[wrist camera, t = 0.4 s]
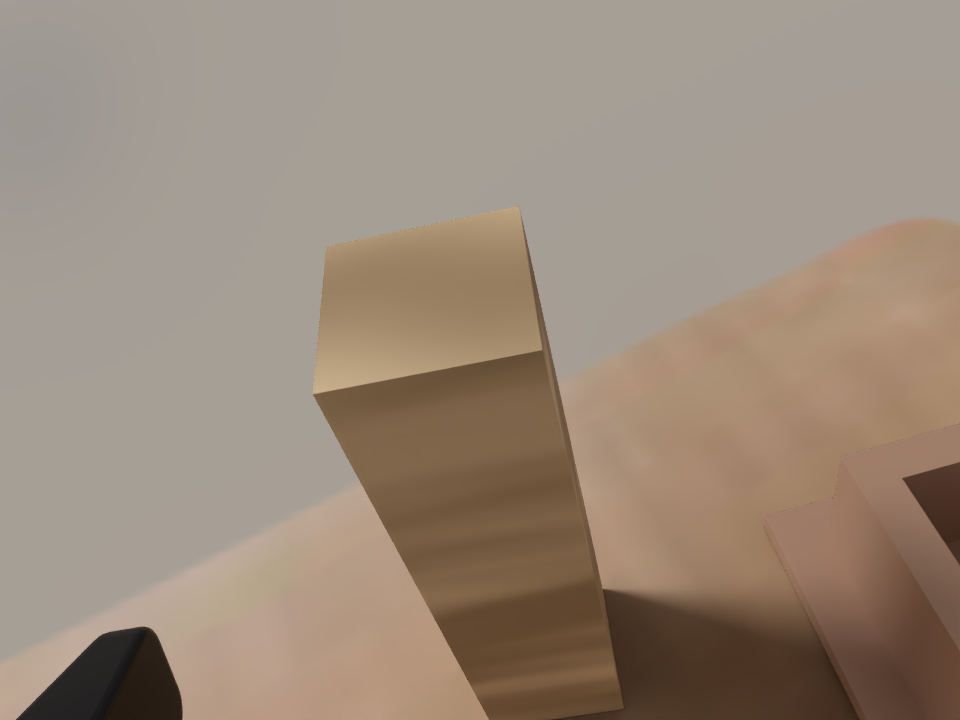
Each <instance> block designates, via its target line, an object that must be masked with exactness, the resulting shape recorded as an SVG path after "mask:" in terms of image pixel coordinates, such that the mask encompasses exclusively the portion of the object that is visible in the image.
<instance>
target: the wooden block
mask: <svg viewBox="0 0 960 720" xmlns="http://www.w3.org/2000/svg"><path fill="white" fill-rule="evenodd" d="M313 395H314V397H315V399H316V401H317V403H318V405H319V406H320V408H321V410H322V412H323V414H324V416H325V418H326V419H327V421H328V423H329V425H330V427H331V428H332V430H333V432H334V434H335V436H336V438H337V440H338V441H339V443H340V445H341V447H342V449H343V451H344V453H345V454H346V456H347V458H348V460H349V462H350V463H351V465H352V467H353V469H354V471H355V473H356V475H357V476H358V478H359V480H360V482H361V484H362V486H363V488H364V490H365V491H366V493H367V495H368V497H369V499H370V501H371V502H372V504H373V506H374V508H375V510H376V512H377V514H378V515H379V517H380V519H381V521H382V523H383V525H384V526H385V528H386V530H387V532H388V534H389V536H390V538H391V539H392V541H393V543H394V545H395V547H396V549H397V550H398V552H399V554H400V556H401V558H402V560H403V561H404V563H405V565H406V567H407V569H408V571H409V573H410V574H411V576H412V578H413V580H414V582H415V584H416V585H417V587H418V589H419V591H420V593H421V595H422V597H423V598H424V600H425V602H426V604H427V606H428V608H429V609H430V611H431V613H432V615H433V617H434V619H435V621H436V622H437V624H438V626H439V628H440V630H441V632H442V633H443V635H444V637H445V639H446V641H447V643H448V645H449V646H450V648H451V650H452V652H453V654H454V656H455V657H456V659H457V661H458V663H459V665H460V667H461V669H462V670H463V672H464V674H465V676H466V678H467V680H468V681H469V683H470V685H471V687H472V689H473V691H474V693H475V694H476V696H477V698H478V700H479V702H480V704H481V705H482V707H483V709H484V711H485V713H486V715H487V717H488V718H489V720H552V719H559V718H566V717H572V716H579V715H586V714H593V713H600V712H607V711H613V710H620V709H624V705H623V700H622V694H621V689H620V683H619V678H618V672H617V667H616V661H615V655H614V650H613V644H612V639H611V633H610V628H609V622H608V616H607V611H606V605H605V600H604V594H603V589H602V584H601V579H600V575H599V570H598V566H597V561H596V556H595V552H594V547H593V543H592V538H591V533H590V529H589V524H588V520H587V515H586V510H585V506H584V501H583V497H582V492H581V487H580V483H579V478H578V474H577V469H576V464H575V460H574V455H573V451H572V446H571V442H570V437H569V432H568V428H567V423H566V419H565V414H564V409H563V405H562V400H561V396H560V391H559V386H558V382H557V377H556V373H555V368H554V364H553V359H552V354H551V350H550V345H549V340H548V336H547V331H546V327H545V322H544V317H543V313H542V308H541V304H540V299H539V294H538V290H537V285H536V281H535V276H534V271H533V267H532V263H531V258H530V253H529V248H528V244H527V239H526V235H525V231H524V225H523V221H522V217H521V212H520V207H519V206H517V207H512V208H507V209H503V210H498V211H493V212H488V213H484V214H479V215H474V216H469V217H465V218H460V219H455V220H450V221H446V222H441V223H436V224H431V225H427V226H422V227H417V228H412V229H408V230H404V231H398V232H394V233H389V234H384V235H379V236H374V237H370V238H365V239H360V240H355V241H351V242H346V243H341V244H337V245H332V246H327V247H326V255H325V267H324V278H323V290H322V299H321V311H320V321H319V332H318V343H317V354H316V365H315V378H314V387H313Z"/></svg>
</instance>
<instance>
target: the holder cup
mask: <svg viewBox="0 0 960 720" xmlns="http://www.w3.org/2000/svg"><path fill="white" fill-rule="evenodd" d="M764 528H765V530H766V532H767V534H768V536H769V538H770V540H771V542H772V544H773V546H774V548H775V550H776V552H777V554H778V556H779V558H780V560H781V562H782V564H783V566H784V568H785V570H786V572H787V575H788V577H789V579H790V581H791V583H792V585H793V587H794V589H795V591H796V593H797V595H798V597H799V599H800V601H801V603H802V605H803V607H804V609H805V611H806V613H807V615H808V617H809V619H810V621H811V623H812V625H813V627H814V629H815V631H816V633H817V635H818V637H819V639H820V641H821V643H822V645H823V647H824V649H825V651H826V653H827V655H828V657H829V659H830V661H831V663H832V665H833V667H834V669H835V671H836V673H837V675H838V677H839V679H840V681H841V683H842V685H843V687H844V689H845V691H846V693H847V695H848V697H849V699H850V701H851V703H852V705H853V707H854V709H855V711H856V713H857V715H858V717H859V719H860V720H960V424H956V425H953V426H949V427H945V428H942V429H938V430H935V431H931V432H928V433H924V434H921V435H917V436H913V437H910V438H906V439H903V440H899V441H896V442H892V443H888V444H885V445H881V446H878V447H874V448H871V449H867V450H864V451H860V452H856V453H853V454H849V455H846V456H842V457H841V458H840V464H839V470H838V476H837V482H836V488H835V494H834V497H832V498H828V499H825V500H821V501H818V502H814V503H810V504H807V505H803V506H800V507H796V508H793V509H789V510H785V511H782V512H778V513H775V514H771V515H767V516H765V519H764Z"/></svg>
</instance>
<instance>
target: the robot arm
mask: <svg viewBox="0 0 960 720" xmlns="http://www.w3.org/2000/svg"><path fill="white" fill-rule="evenodd" d="M182 717H183V712H182V700H181V695H180V691H179V688H178V686H177V683H176V681H175V678H174V676H173V673H172V671H171V668H170V666H169V663H168V661H167V658H166V656H165V653H164V651H163V648H162V646H161V643H160V641H159V638H158V637H157V635H156V633H155V632H154V631H153V630H152V629H150V628H148V627H136V628H130V629H124V630H118V631H112V632H108V633H105V634H103V635H101V636H99V637H98V638H97V639H96V640H95V641H93V642H92V643H91V644H90V645H89V646H88V647H87V648H86V649H85V650H84V651H83V652H82V653H81V655H80V656H79V657H78V658H77V659H76V660H75V661H74V662H73V663H72V664H71V665H70V666H69V667H68V668H67V669H66V670H65V671H64V672H63V673H62V674H61V675H60V676H59V677H58V678H57V679H56V680H55V681H54V682H53V683H52V684H51V685H50V686H49V687H48V688H47V689H46V690H45V691H44V692H43V693H42V694H41V695H40V696H39V697H38V698H37V699H36V700H35V701H34V702H33V703H32V704H31V705H30V706H29V707H28V708H27V709H26V710H25V711H24V712H23V713H22V714H21V715H20V716H19V717H18V718H17V719H16V720H182Z"/></svg>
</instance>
